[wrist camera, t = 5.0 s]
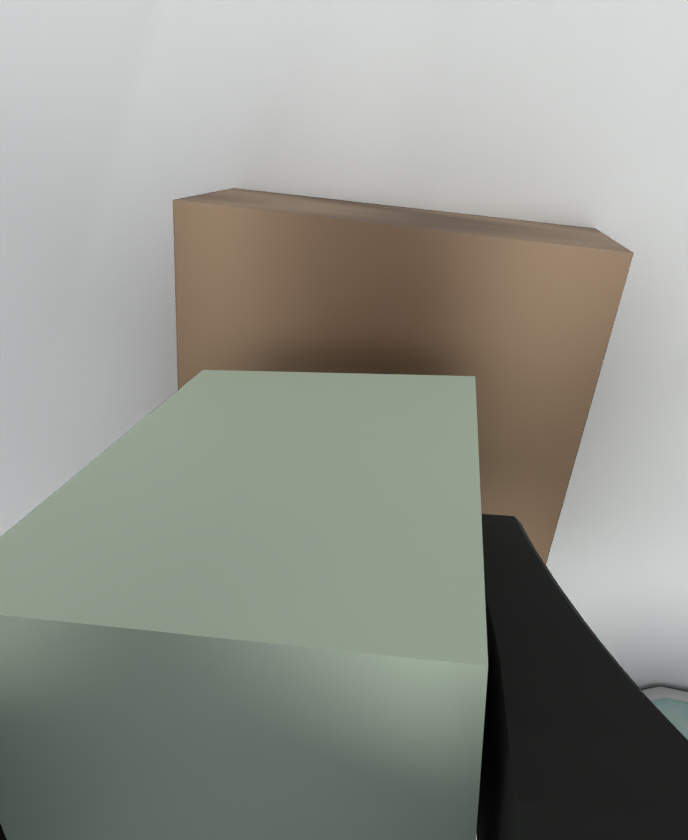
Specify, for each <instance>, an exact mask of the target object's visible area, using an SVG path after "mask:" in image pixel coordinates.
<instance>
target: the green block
mask: <svg viewBox="0 0 688 840" xmlns="http://www.w3.org/2000/svg"><path fill="white" fill-rule="evenodd" d="M487 677H488V649H487V627H486V605H485V583H484V560H483V538H482V516H481V493H480V471H479V449H478V426H477V404H476V382H475V376H446V375H403V374H360V373H317V372H274V371H231V370H202V371H201V372H200V373H198V374H197V375H196V376H195V377H194V378H192V379H191V380H190V381H189V382H188V383H186V384H185V385H184V386H183V387H181V388H180V389H179V390H178V391H177V392H175V393H174V394H173V395H172V396H171V397H169V398H168V399H167V400H166V401H165V402H163V403H162V404H161V405H160V406H158V407H157V408H156V409H155V410H154V411H152V412H151V413H150V414H149V415H148V416H146V417H145V418H144V419H143V420H142V421H140V422H139V423H138V424H137V425H135V426H134V427H133V428H132V429H131V430H129V431H128V432H127V433H126V434H125V435H123V436H122V437H121V438H120V439H119V440H117V441H116V442H115V443H114V444H113V445H111V446H110V447H109V448H108V449H106V450H105V451H104V452H103V453H102V454H100V455H99V456H98V457H97V458H96V459H94V460H93V461H92V462H91V463H90V464H88V465H87V466H86V467H85V468H83V469H82V470H81V471H80V472H79V473H77V474H76V475H75V476H74V477H73V478H71V479H70V480H69V481H68V482H67V483H65V484H64V485H63V486H62V487H60V488H59V489H58V490H57V491H56V492H54V493H53V494H52V495H51V496H50V497H48V498H47V499H46V500H45V501H44V502H42V503H41V504H40V505H39V506H37V507H36V508H35V509H34V510H33V511H31V512H30V513H29V514H28V515H27V516H25V517H24V518H23V519H22V520H21V521H19V522H18V523H17V524H16V525H14V526H13V527H12V528H11V529H10V530H8V531H7V532H6V533H5V534H4V535H2V536H1V537H0V824H1V826H2V829H3V831H4V834H5V837H6V839H7V840H476V829H477V815H478V801H479V788H480V774H481V760H482V746H483V732H484V718H485V704H486V690H487Z"/></svg>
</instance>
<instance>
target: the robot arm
mask: <svg viewBox="0 0 688 840" xmlns="http://www.w3.org/2000/svg"><path fill="white" fill-rule="evenodd" d="M481 516H482V538H483V560H484V583H485V605H486V627H487V649H488V677H487V690H486V704H485V718H484V732H483V746H482V760H481V774H480V788H479V801H478V815H477V829H476V834H477V840H688V740H687V739H686V737H685V736H684V735H683V734H682V733H681V732H680V731H679V730H678V729H677V728H676V727H675V726H674V725H673V724H672V723H671V722H670V721H669V720H668V719H667V718H666V717H665V715H664V714H663V713H662V712H661V711H660V710H659V709H658V708H657V707H656V706H655V705H654V704H653V703H652V702H651V700H650V699H649V698H648V697H647V696H646V695H645V694H644V693H643V692H642V690H641V689H640V688H639V687H638V686H637V685H636V684H635V682H634V681H633V680H632V679H631V678H630V677H629V675H628V674H627V673H626V672H625V671H624V670H623V668H622V667H621V666H620V665H619V664H618V662H617V661H616V660H615V659H614V657H613V656H612V655H611V654H610V653H609V651H608V650H607V649H606V648H605V647H604V645H603V644H602V643H601V642H600V640H599V639H598V638H597V637H596V635H595V634H594V633H593V631H592V630H591V629H590V627H589V626H588V625H587V624H586V622H585V621H584V620H583V618H582V617H581V615H580V614H579V613H578V611H577V610H576V609H575V607H574V606H573V604H572V603H571V602H570V600H569V599H568V598H567V596H566V595H565V593H564V592H563V591H562V589H561V588H560V586H559V585H558V583H557V582H556V580H555V579H554V577H553V576H552V574H551V573H550V571H549V570H548V568H547V567H546V565H545V564H544V562H543V560H542V559H541V557H540V556H539V554H538V552H537V551H536V549H535V548H534V546H533V544H532V542H531V541H530V539H529V537H528V535H527V533H526V532H525V530H524V528H523V526H522V524H521V523H520V522H519V521H518V519H517V518H516V517H515V516H507V515H492V514H481ZM0 840H7V839H6V837H5V834H4V831H3V829H2V826H1V824H0Z"/></svg>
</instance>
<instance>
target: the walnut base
mask: <svg viewBox="0 0 688 840" xmlns="http://www.w3.org/2000/svg"><path fill="white" fill-rule="evenodd" d="M173 222H174V258H175V295H176V331H177V368H178V390H179V389H180V388H181V387H183V386H184V385H185V384H186V383H188V382H189V381H190V380H191V379H192V378H194V377H195V376H196V375H197V374H198V373H200V372H201V371H202V370H231V371H274V372H317V373H360V374H403V375H446V376H475V382H476V404H477V426H478V449H479V471H480V493H481V514H492V515H507V516H515V517H516V518H517V519H518V521H519V522H520V523H521V524H522V526H523V528H524V530H525V532H526V533H527V535H528V537H529V539H530V541H531V542H532V544H533V546H534V548H535V549H536V551H537V552H538V554H539V556H540V557H541V559H542V560H543V562H544V564H545V565H546V562H547V559H548V555H549V552H550V548H551V544H552V541H553V537H554V534H555V530H556V527H557V523H558V520H559V516H560V512H561V509H562V505H563V502H564V498H565V495H566V491H567V488H568V484H569V480H570V477H571V473H572V470H573V466H574V463H575V459H576V456H577V452H578V449H579V445H580V441H581V438H582V434H583V431H584V427H585V424H586V420H587V417H588V413H589V409H590V406H591V402H592V399H593V395H594V392H595V388H596V385H597V381H598V377H599V374H600V370H601V367H602V363H603V360H604V356H605V353H606V349H607V345H608V342H609V338H610V335H611V331H612V328H613V324H614V321H615V317H616V313H617V310H618V306H619V303H620V299H621V296H622V292H623V289H624V285H625V281H626V278H627V274H628V271H629V267H630V264H631V260H632V257H633V252H631V251H630V250H628V249H626V248H625V247H623V246H622V245H620V244H619V243H617V242H615V241H614V240H612V239H611V238H609V237H608V236H606V235H604V234H603V233H601V232H600V231H598V230H597V229H594V228H585V227H576V226H567V225H558V224H549V223H540V222H531V221H522V220H513V219H504V218H495V217H487V216H478V215H469V214H460V213H451V212H442V211H433V210H424V209H415V208H406V207H397V206H388V205H379V204H370V203H361V202H352V201H343V200H334V199H325V198H316V197H307V196H298V195H289V194H280V193H271V192H262V191H253V190H244V189H235V188H233V189H228V190H222V191H217V192H212V193H207V194H202V195H196V196H191V197H186V198H181V199H175V200H173Z"/></svg>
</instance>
